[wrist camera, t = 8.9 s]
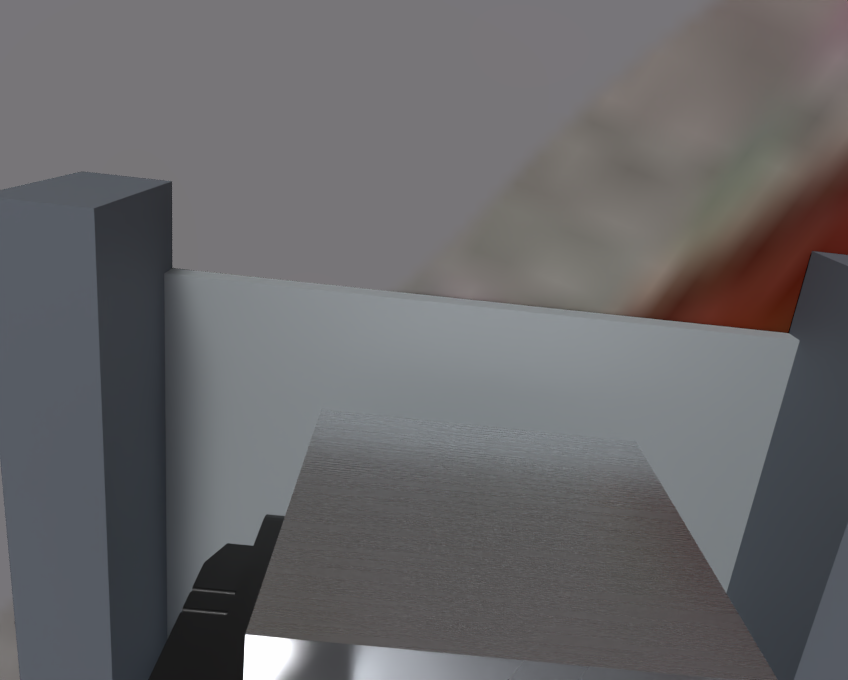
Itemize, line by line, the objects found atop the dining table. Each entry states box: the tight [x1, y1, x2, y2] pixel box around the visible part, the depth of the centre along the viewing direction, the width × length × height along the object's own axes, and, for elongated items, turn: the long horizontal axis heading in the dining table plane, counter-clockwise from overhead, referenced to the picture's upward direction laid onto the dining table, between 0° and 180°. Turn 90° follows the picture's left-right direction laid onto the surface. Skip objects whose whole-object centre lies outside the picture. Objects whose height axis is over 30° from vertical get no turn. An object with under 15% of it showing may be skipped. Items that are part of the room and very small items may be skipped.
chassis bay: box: [0, 172, 848, 680], centre depth 13 cm, size 14×11×3 cm
